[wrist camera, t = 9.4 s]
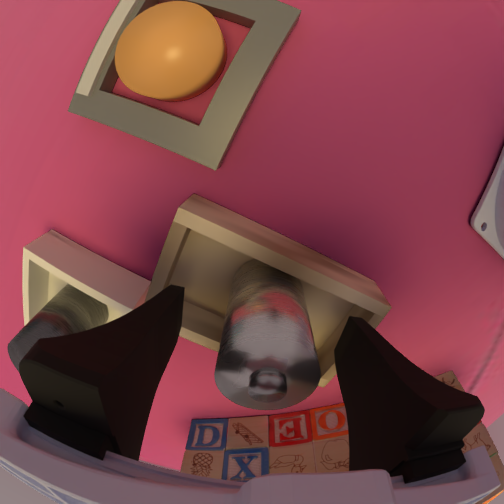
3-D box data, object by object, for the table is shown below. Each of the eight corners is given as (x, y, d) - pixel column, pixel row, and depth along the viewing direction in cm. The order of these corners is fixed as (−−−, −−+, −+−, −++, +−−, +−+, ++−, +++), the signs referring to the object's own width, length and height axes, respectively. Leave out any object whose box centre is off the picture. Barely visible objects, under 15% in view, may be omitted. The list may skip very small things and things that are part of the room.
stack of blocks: (214, 451, 22) (199, 564, 11) (190, 416, 20) (162, 555, 9) (437, 410, 20) (477, 512, 9) (453, 367, 18) (514, 486, 6)
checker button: (244, 33, 10) (240, 16, 8) (199, 115, 12) (188, 112, 10) (160, 9, 9) (145, -7, 8) (119, 86, 11) (98, 81, 9)
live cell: (308, 261, 14) (338, 357, 8) (292, 320, 15) (305, 423, 9) (236, 251, 13) (216, 344, 8) (227, 311, 15) (209, 414, 9)
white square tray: (151, 281, 15) (132, 309, 12) (127, 360, 18) (113, 388, 15) (52, 229, 14) (23, 246, 11) (45, 314, 17) (25, 336, 14)
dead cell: (112, 296, 15) (54, 375, 9) (104, 336, 16) (58, 411, 10) (66, 270, 14) (-3, 334, 8) (62, 311, 16) (7, 376, 10)
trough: (374, 281, 15) (391, 307, 12) (317, 356, 17) (323, 387, 14) (193, 193, 13) (178, 207, 11) (155, 290, 15) (139, 317, 13)
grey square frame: (298, 20, 10) (302, 7, 8) (219, 167, 13) (214, 171, 11) (149, -22, 9) (139, -34, 7) (81, 111, 11) (64, 111, 10)
